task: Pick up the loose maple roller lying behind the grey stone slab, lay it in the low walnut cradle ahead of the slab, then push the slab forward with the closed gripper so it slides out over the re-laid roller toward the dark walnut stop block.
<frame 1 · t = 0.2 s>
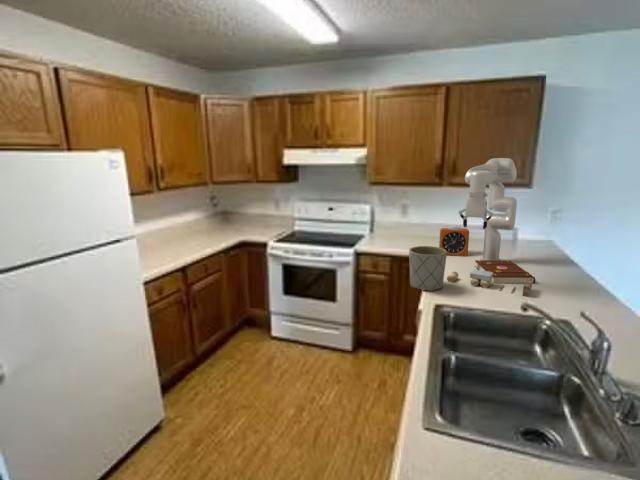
hand: (474, 227, 202), 30 cm above the worktop, fingers open, 9 cm apart
slab: (481, 275, 203), point 6 cm above the worktop, slide at 0.0 cm
stop block: (526, 292, 192), on the worktop
book: (502, 275, 221), on the worktop
bed rollers: (480, 284, 204), on the worktop
alarm clock: (452, 254, 264), on the worktop
roller c: (452, 280, 213), on the worktop
planter: (426, 286, 204), on the worktop
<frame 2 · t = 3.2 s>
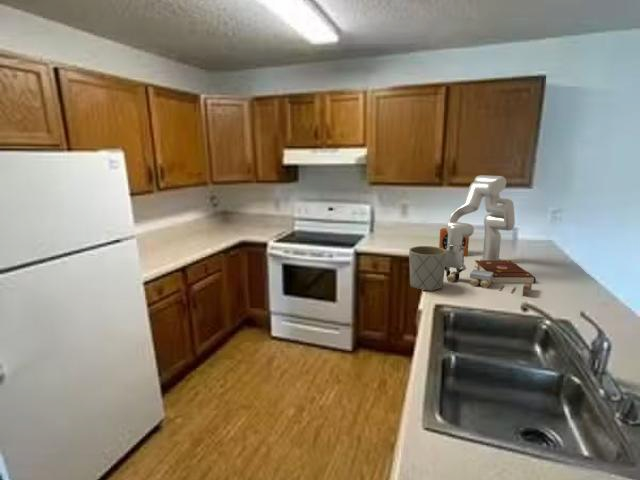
hand: (452, 278, 212), 1 cm above the worktop, fingers closed on roller c, 4 cm apart
roller c: (452, 280, 213), on the worktop, touching gripper
everything else where it was.
when the fingers open (1 cm above the worktop, at t = 8.5 s): roller c stays where it is, on the worktop.
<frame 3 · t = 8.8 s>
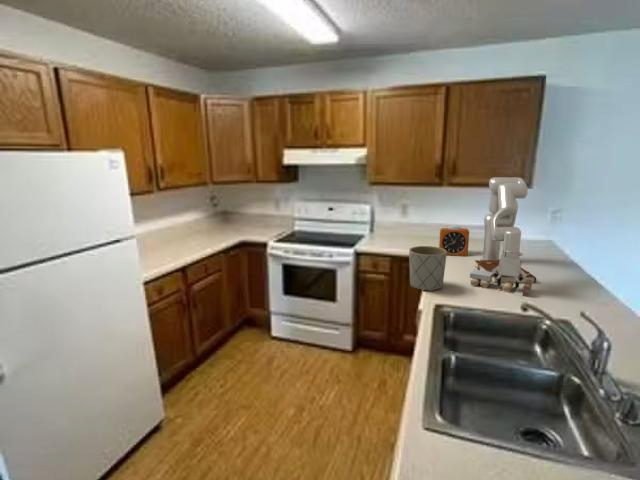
hand: (507, 286, 196), 1 cm above the worktop, fingers open, 7 cm apart
roller c: (507, 289, 197), on the worktop, tilted 5°
everything else where it was.
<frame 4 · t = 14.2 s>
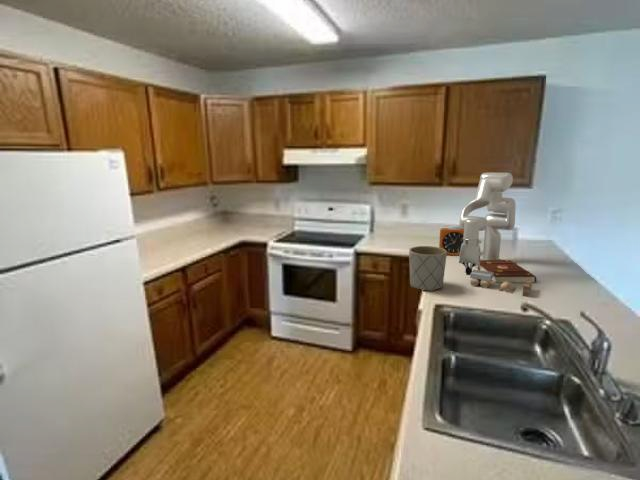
hand: (468, 274, 207), 5 cm above the worktop, fingers closed
slab: (482, 275, 203), point 6 cm above the worktop, slide at 0.2 cm, touching gripper
roller c: (507, 289, 197), on the worktop, tilted 26°
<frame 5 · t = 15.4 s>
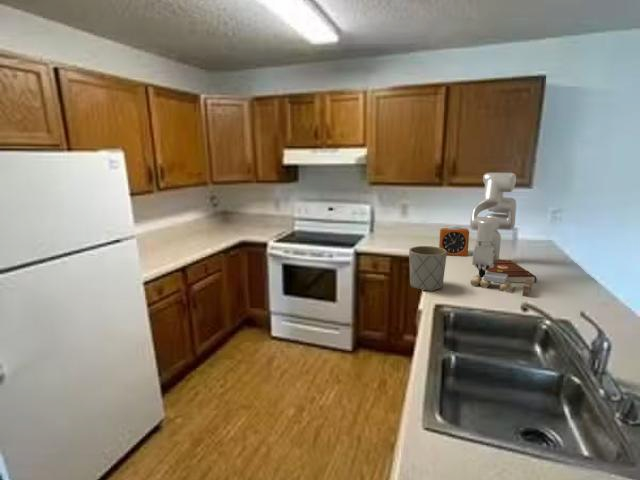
hand: (481, 276, 203), 5 cm above the worktop, fingers closed
slab: (495, 277, 199), point 6 cm above the worktop, slide at 7.1 cm, touching gripper
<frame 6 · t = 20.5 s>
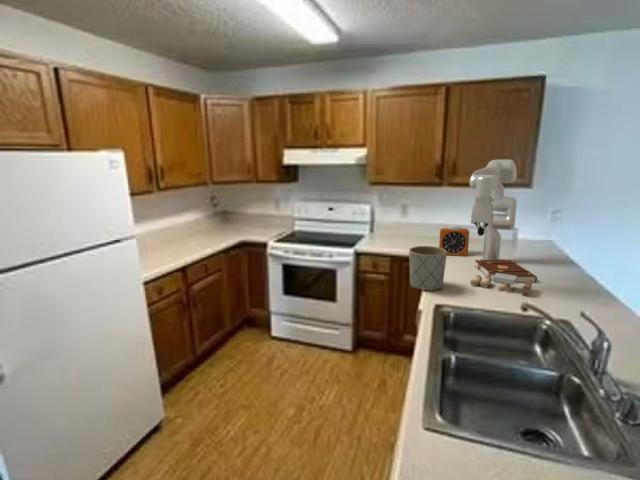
hand: (480, 235, 199), 27 cm above the worktop, fingers closed
slab: (504, 278, 196), point 6 cm above the worktop, slide at 11.4 cm
roller c: (507, 289, 197), on the worktop, tilted 29°, touching bed rollers
at the end: slab slide at 11.4 cm; roller c inside the target area on the slab (1.6 cm from its centre), point 0.1 cm above the slab's base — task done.
